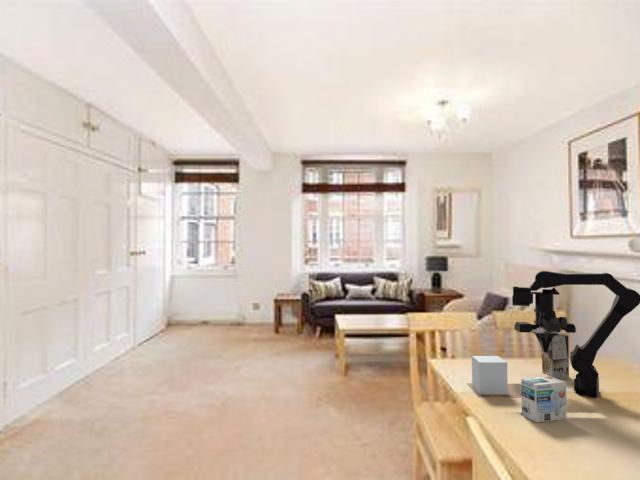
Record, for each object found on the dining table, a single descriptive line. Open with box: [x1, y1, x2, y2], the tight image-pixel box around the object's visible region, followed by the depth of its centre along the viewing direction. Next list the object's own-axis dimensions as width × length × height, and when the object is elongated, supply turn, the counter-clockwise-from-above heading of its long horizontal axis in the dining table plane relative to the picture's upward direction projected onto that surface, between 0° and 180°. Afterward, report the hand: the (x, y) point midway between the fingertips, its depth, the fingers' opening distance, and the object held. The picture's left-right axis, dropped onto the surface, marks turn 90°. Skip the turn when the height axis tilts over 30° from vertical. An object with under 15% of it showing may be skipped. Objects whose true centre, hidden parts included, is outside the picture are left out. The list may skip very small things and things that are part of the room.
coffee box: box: [541, 332, 570, 380], centre depth 178 cm, size 9×6×16 cm
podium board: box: [466, 382, 522, 399], centre depth 156 cm, size 20×15×1 cm
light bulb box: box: [520, 375, 567, 424], centre depth 135 cm, size 11×7×11 cm, turn 105°
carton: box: [471, 355, 509, 395], centre depth 156 cm, size 9×9×10 cm
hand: (544, 352), depth 160 cm, fingers closed
